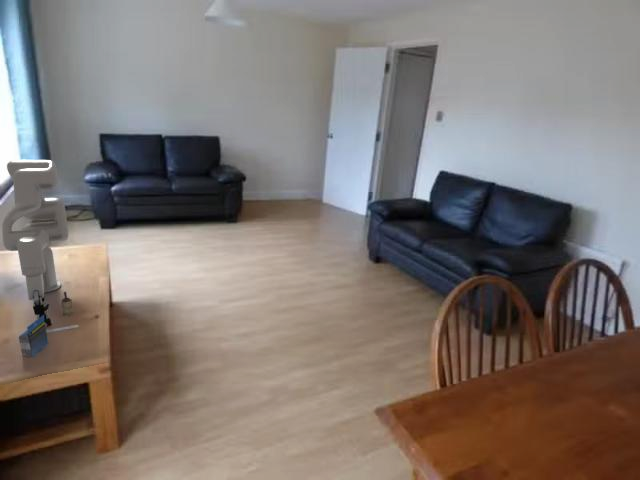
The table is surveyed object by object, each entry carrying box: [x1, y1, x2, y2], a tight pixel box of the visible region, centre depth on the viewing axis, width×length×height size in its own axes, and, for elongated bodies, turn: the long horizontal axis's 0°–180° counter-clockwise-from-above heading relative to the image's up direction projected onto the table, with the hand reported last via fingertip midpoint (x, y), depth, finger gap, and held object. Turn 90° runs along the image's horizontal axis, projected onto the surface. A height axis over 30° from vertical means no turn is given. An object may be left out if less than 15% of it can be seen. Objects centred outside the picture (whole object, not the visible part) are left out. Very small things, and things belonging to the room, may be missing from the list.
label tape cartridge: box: [18, 315, 49, 358], centre depth 150 cm, size 9×4×12 cm, turn 178°
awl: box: [60, 291, 74, 317], centre depth 175 cm, size 4×4×10 cm
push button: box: [32, 301, 52, 328], centre depth 164 cm, size 7×5×10 cm
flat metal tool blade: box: [46, 324, 79, 334], centre depth 165 cm, size 2×13×1 cm, turn 122°
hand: (39, 307), depth 164 cm, fingers open, 9 cm apart
